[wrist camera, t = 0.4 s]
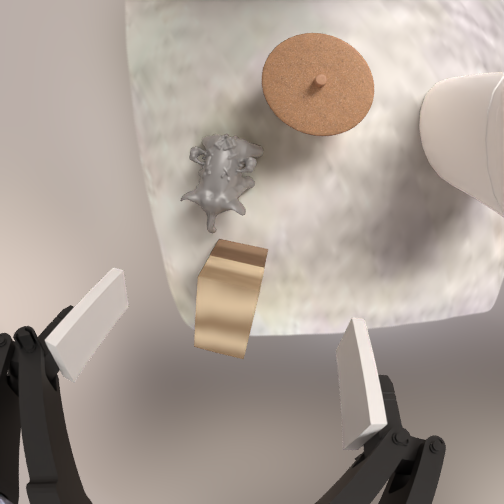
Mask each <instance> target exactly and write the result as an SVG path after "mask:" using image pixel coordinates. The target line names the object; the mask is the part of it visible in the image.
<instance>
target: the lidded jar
mask: <svg viewBox="0 0 504 504" xmlns="http://www.w3.org/2000/svg"><path fill="white" fill-rule="evenodd" d="M262 88H263V93H264V96H265V98H266V101H267V103H268V105H269V106H270V108H271V109H272V111H273V112H274V113H275V115H276V116H277V117H278V118H279V119H281V120H282V121H283V122H284V123H286V124H287V125H288V126H290V127H292V128H294V129H295V130H297V131H300V132H303V133H306V134H310V135H315V136H332V135H336V134H340V133H343V132H346V131H348V130H350V129H351V128H353V127H355V126H356V125H357V124H358V123H360V122H361V121H362V120H363V118H364V117H365V116H366V115H367V113H368V111H369V109H370V107H371V105H372V102H373V97H374V82H373V77H372V74H371V71H370V68H369V66H368V65H367V63H366V61H365V60H364V58H363V57H362V56H361V55H360V53H359V52H358V51H357V50H356V49H354V48H353V47H352V46H351V45H349V44H348V43H346V42H344V41H342V40H341V39H338V38H336V37H333V36H330V35H326V34H319V33H306V34H301V35H296V36H294V37H291V38H288V39H287V40H285V41H283V42H282V43H280V44H279V45H278V46H277V47H275V49H274V50H273V51H272V52H271V53H270V55H269V56H268V58H267V60H266V62H265V65H264V67H263V72H262Z"/></svg>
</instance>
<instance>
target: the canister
mask: <svg viewBox="0 0 504 504" xmlns="http://www.w3.org/2000/svg"><path fill="white" fill-rule="evenodd" d="M419 130H420V136H421V142H422V147H423V149H424V152H425V154H426V157H427V159H428V162H429V164H430V165H431V166H432V167H433V169H434V170H435V171H436V173H437V174H438V176H439V177H441V178H442V179H444V180H445V181H446V182H448V183H449V184H450V185H452V186H454V187H456V188H458V189H459V190H461V191H463V192H464V193H466V194H468V195H470V196H471V197H473V198H475V199H476V200H478V201H479V202H481V203H483V204H484V205H486V206H487V207H489V208H491V209H492V210H494V211H495V212H497V213H498V214H500V215H501V216H502V217H504V72H494V73H483V74H474V75H466V76H459V77H452V78H447V79H445V80H442V81H440V82H438V83H435V85H434V86H433V87H432V88H431V89H430V90H429V91H428V93H427V94H426V96H425V98H424V101H423V104H422V106H421V109H420V121H419Z"/></svg>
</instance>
